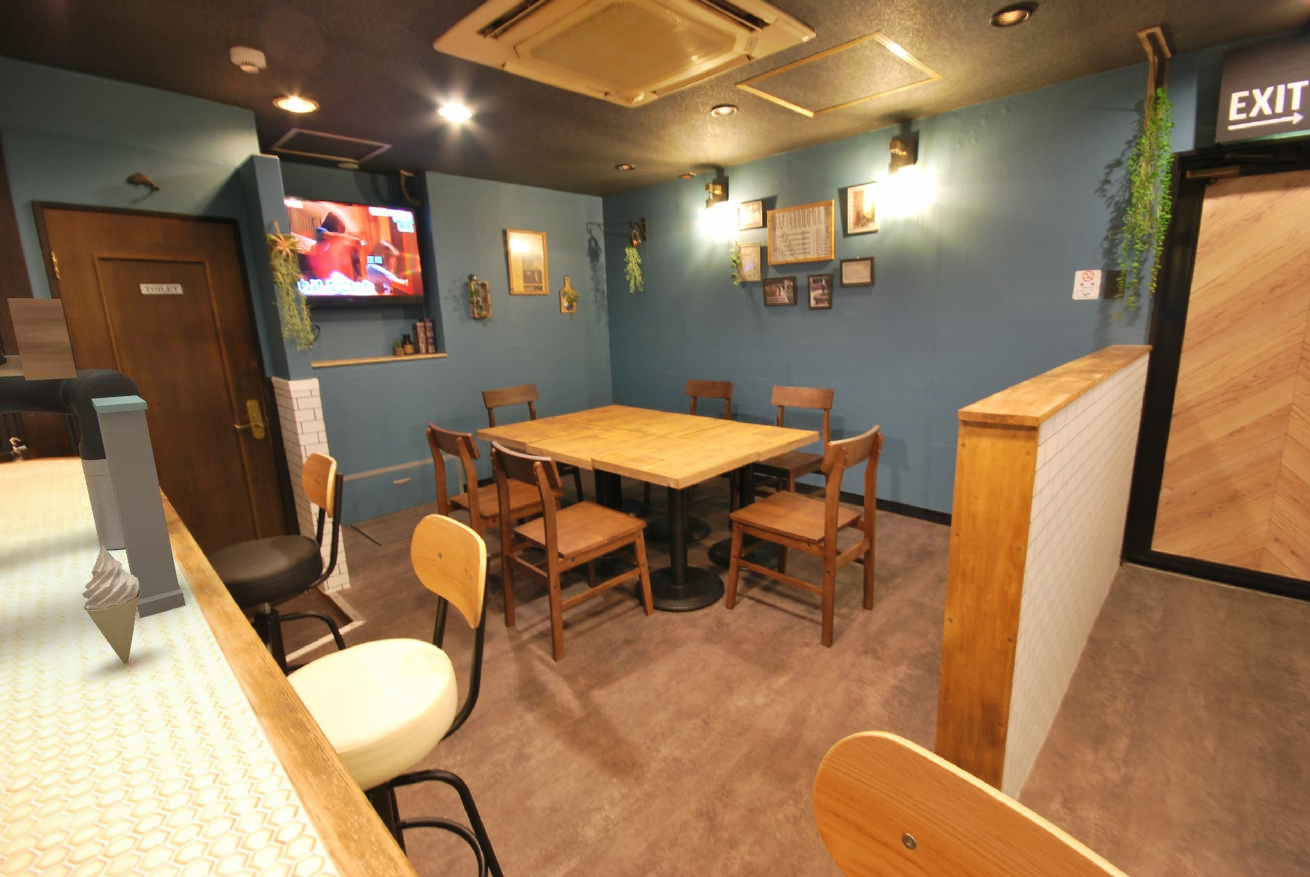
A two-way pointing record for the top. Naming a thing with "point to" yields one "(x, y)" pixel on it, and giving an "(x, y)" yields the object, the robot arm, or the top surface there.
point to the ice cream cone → (113, 602)
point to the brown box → (39, 341)
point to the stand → (139, 502)
